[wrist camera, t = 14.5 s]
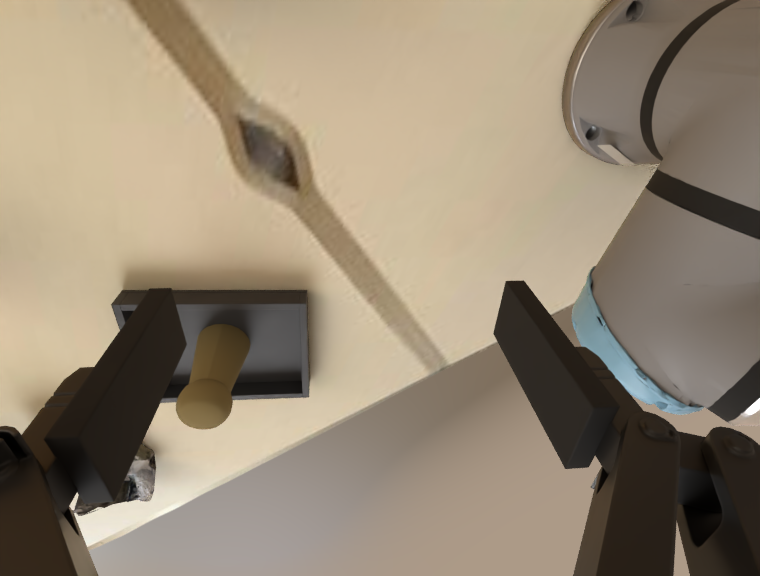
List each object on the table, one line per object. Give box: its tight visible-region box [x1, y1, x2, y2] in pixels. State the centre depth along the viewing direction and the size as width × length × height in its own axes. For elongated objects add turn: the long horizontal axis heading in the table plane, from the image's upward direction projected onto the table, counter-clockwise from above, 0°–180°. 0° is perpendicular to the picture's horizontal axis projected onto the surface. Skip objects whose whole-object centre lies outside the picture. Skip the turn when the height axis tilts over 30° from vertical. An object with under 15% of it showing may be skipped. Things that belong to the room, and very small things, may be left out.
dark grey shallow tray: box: [111, 290, 310, 403], centre depth 47 cm, size 20×15×3 cm
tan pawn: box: [176, 324, 250, 429], centre depth 44 cm, size 6×6×11 cm
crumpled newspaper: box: [72, 444, 156, 516], centre depth 53 cm, size 12×11×15 cm
